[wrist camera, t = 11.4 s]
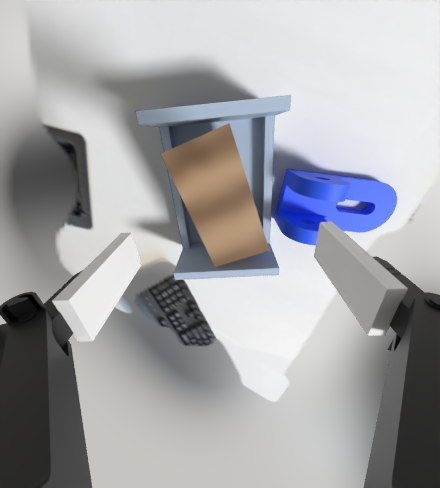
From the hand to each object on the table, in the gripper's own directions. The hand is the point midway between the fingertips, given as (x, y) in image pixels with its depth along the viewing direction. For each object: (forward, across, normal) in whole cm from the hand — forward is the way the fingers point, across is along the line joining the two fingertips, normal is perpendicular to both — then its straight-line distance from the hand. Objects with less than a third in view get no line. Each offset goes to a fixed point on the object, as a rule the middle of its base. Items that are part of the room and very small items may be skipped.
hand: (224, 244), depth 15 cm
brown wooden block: (+17, -1, -1) cm, 17 cm away
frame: (+21, -1, -1) cm, 21 cm away
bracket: (+22, +18, -5) cm, 28 cm away
